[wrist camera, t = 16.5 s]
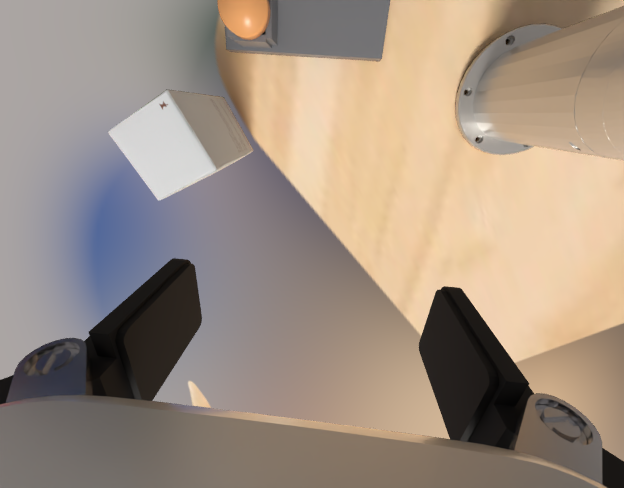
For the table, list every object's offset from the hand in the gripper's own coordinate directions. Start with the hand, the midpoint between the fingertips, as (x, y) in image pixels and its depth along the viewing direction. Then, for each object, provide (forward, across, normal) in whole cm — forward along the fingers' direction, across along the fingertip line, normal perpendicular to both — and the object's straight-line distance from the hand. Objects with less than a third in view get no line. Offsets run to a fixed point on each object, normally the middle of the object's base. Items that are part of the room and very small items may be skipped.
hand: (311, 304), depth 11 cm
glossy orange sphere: (+26, +9, -15) cm, 31 cm away
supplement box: (+28, +15, -3) cm, 32 cm away
